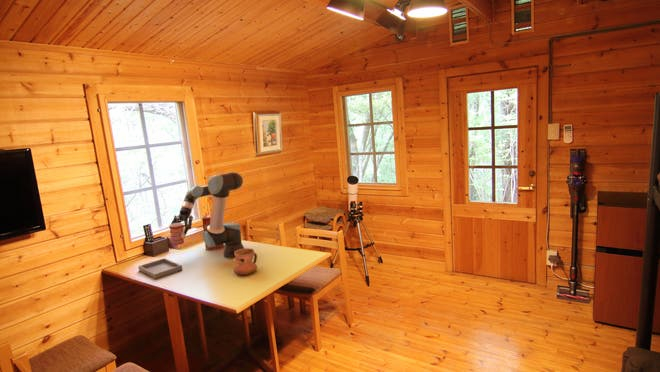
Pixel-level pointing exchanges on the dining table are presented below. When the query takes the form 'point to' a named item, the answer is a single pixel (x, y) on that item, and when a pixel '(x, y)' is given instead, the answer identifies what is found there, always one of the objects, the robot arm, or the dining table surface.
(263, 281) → the dining table surface
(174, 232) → the mug
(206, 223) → the food packaging
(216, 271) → the dining table surface
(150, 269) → the tray
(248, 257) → the ceramic jug
